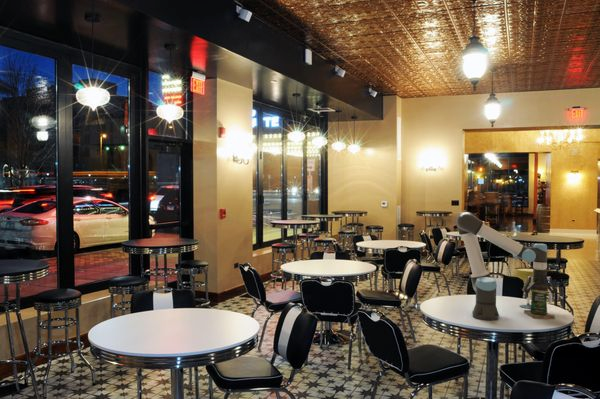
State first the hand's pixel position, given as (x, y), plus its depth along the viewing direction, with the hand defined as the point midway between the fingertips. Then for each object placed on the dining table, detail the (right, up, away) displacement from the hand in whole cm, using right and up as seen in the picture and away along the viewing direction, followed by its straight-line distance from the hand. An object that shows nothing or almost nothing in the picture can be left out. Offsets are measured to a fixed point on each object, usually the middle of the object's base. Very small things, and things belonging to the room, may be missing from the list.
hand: (539, 303), depth 313 cm
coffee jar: (0, -7, 0) cm, 7 cm away
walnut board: (0, -8, 0) cm, 8 cm away
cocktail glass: (+4, -8, +23) cm, 25 cm away
